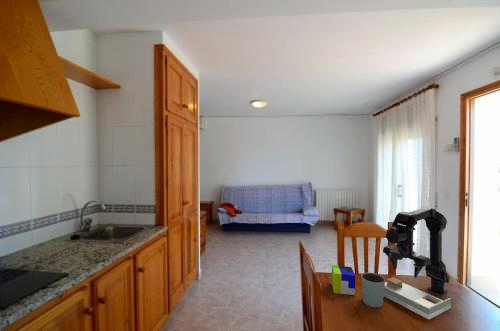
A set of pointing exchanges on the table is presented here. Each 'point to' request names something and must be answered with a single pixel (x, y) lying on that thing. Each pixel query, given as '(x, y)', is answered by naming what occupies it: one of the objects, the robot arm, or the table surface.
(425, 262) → the robot arm
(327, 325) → the table surface
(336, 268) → the puzzle toy
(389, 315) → the table surface
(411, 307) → the tray
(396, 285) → the block
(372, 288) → the grey cup
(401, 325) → the table surface
